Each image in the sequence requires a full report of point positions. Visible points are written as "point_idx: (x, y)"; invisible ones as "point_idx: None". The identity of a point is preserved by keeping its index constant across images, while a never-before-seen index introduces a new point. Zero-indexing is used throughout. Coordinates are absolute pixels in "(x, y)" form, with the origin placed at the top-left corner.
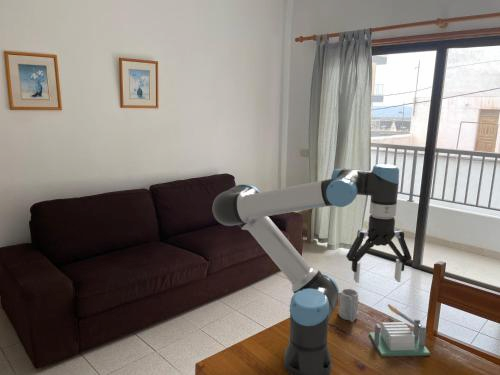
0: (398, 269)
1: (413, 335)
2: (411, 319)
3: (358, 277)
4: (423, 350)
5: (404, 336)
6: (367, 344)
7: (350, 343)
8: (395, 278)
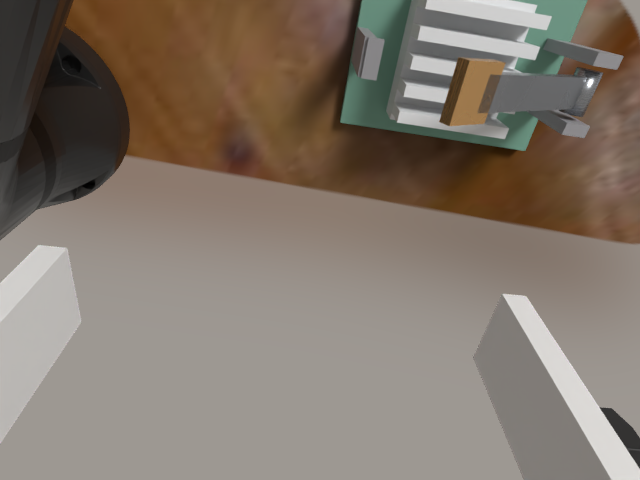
0: (530, 471)
1: (499, 136)
2: (564, 79)
3: (43, 366)
4: (512, 135)
5: (457, 131)
6: (322, 29)
7: (248, 4)
8: (497, 320)
